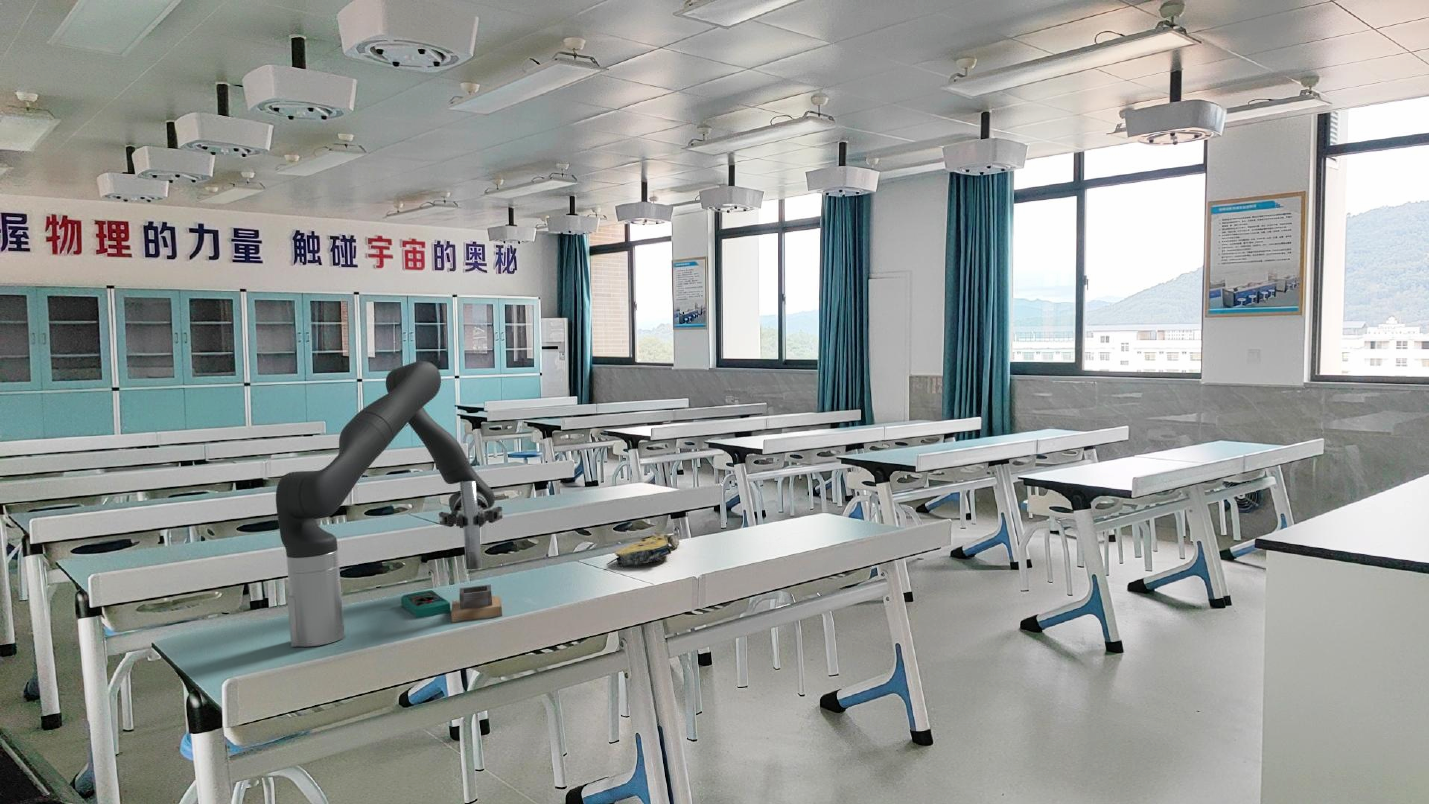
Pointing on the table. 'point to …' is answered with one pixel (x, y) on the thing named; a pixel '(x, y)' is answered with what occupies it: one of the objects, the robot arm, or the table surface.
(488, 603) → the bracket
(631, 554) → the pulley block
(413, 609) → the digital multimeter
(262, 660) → the table surface
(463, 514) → the rod
